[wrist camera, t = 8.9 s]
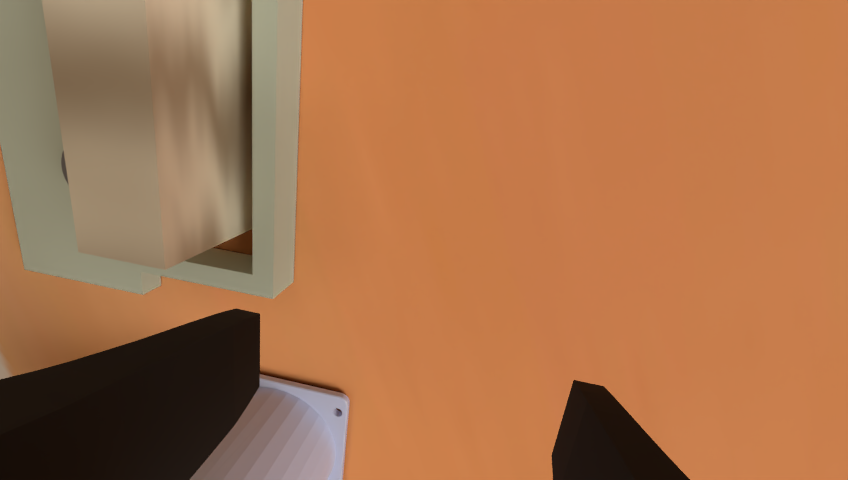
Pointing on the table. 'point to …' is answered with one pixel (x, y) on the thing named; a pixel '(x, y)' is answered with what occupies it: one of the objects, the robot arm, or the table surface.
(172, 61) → the birch door
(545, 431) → the table surface
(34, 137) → the sage cabinet frame
